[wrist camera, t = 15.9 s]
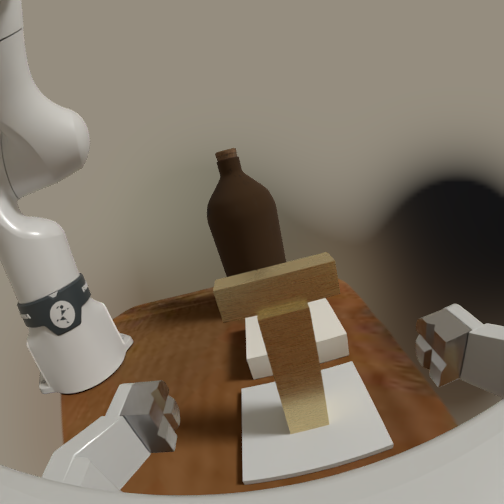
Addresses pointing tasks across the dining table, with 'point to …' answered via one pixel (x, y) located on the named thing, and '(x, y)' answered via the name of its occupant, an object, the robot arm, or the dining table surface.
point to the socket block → (325, 330)
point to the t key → (286, 328)
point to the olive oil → (243, 220)
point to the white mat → (311, 441)
